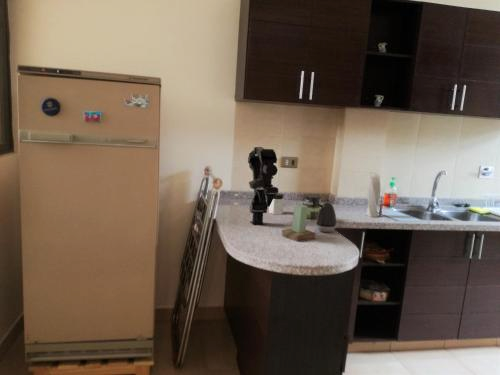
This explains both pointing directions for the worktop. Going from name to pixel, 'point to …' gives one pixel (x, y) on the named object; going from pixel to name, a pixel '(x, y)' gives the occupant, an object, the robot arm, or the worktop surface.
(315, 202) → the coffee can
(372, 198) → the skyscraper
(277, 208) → the jar
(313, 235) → the walnut riser
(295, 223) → the green block
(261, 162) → the robot arm
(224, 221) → the worktop surface
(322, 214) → the dark rounded piece
